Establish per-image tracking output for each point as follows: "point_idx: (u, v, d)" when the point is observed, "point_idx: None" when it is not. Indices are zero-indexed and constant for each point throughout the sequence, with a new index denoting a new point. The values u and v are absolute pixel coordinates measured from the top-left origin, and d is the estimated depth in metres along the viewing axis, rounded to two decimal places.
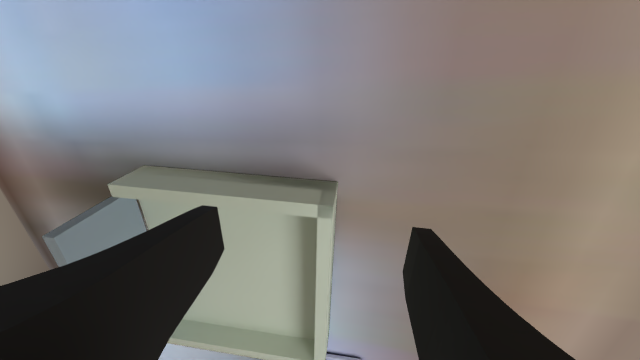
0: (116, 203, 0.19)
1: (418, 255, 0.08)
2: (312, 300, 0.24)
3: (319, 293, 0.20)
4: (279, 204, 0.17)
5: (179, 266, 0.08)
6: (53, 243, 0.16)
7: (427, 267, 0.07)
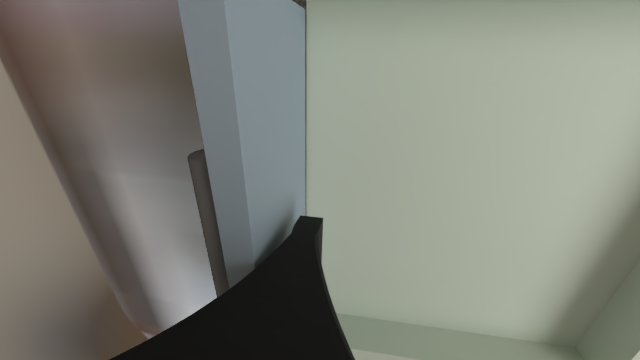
0: (293, 11, 0.08)
1: None
2: (616, 270, 0.12)
3: None
4: None
5: None
6: None
7: None
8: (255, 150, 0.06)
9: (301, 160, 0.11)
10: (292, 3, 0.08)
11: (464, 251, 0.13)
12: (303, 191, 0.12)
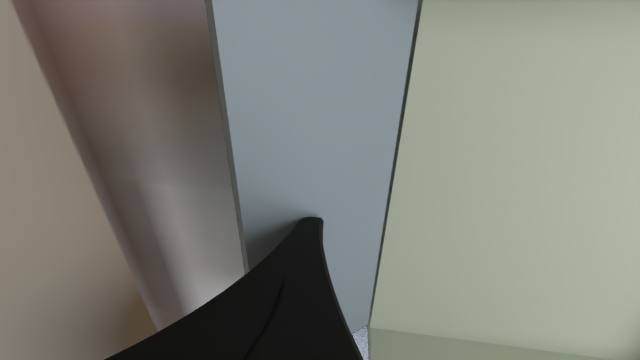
0: (375, 2, 0.07)
1: None
2: None
3: None
4: None
5: None
6: None
7: None
8: (257, 129, 0.07)
9: (378, 166, 0.10)
10: None
11: (562, 268, 0.12)
12: (379, 201, 0.11)
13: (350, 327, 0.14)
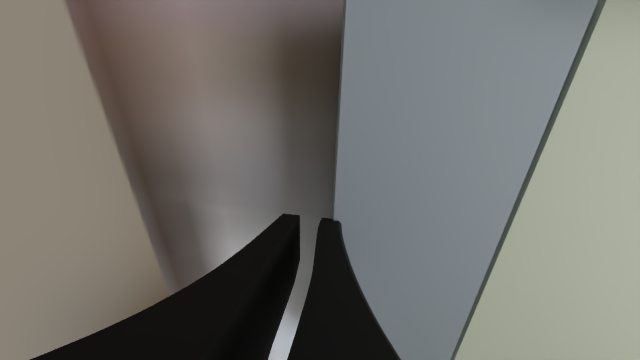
0: (526, 7, 0.06)
1: None
2: None
3: None
4: None
5: (278, 279, 0.08)
6: (345, 12, 0.07)
7: None
8: (363, 130, 0.08)
9: (495, 194, 0.09)
10: None
11: None
12: (490, 234, 0.09)
13: None
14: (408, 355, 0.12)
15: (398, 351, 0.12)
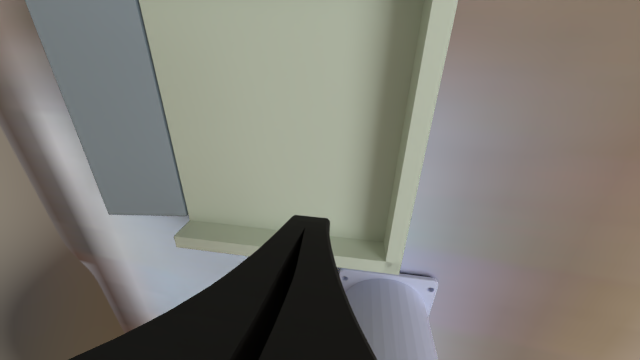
0: None
1: None
2: (386, 170, 0.17)
3: (416, 125, 0.13)
4: None
5: (292, 281, 0.08)
6: None
7: None
8: (54, 43, 0.15)
9: (142, 82, 0.16)
10: None
11: (283, 160, 0.17)
12: (154, 109, 0.17)
13: (168, 208, 0.20)
14: (156, 204, 0.20)
15: (148, 200, 0.20)
